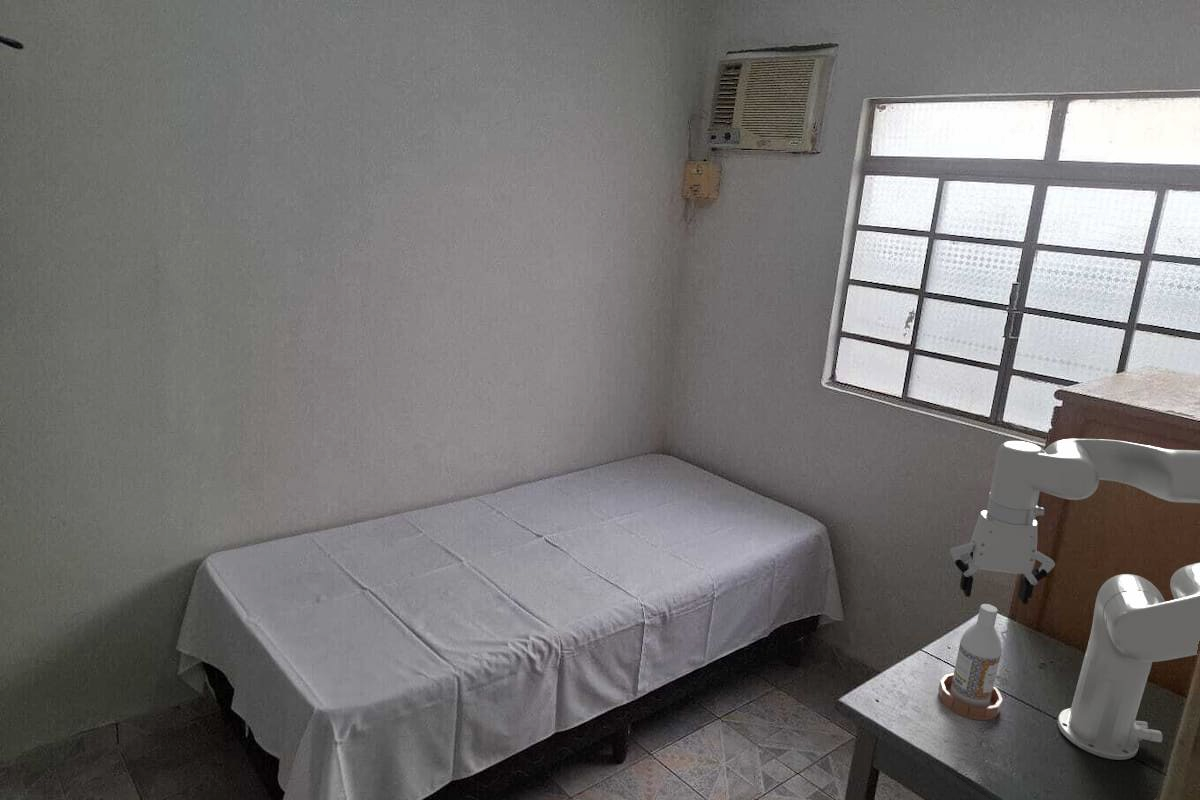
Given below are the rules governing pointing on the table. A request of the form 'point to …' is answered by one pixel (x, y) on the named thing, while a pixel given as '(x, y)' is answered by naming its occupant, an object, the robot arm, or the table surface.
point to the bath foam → (977, 660)
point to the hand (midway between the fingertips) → (994, 596)
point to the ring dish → (965, 708)
